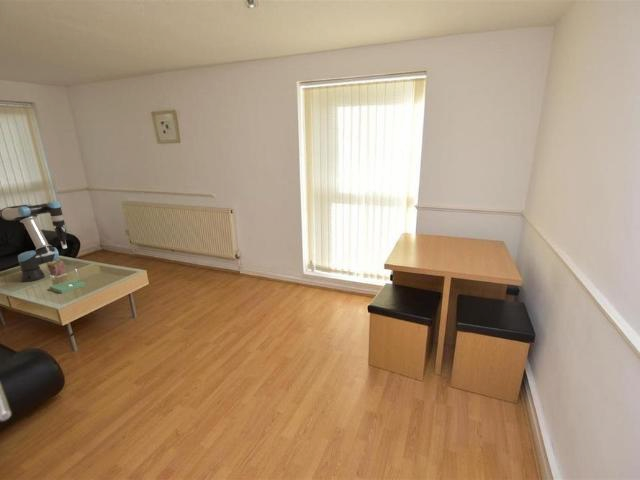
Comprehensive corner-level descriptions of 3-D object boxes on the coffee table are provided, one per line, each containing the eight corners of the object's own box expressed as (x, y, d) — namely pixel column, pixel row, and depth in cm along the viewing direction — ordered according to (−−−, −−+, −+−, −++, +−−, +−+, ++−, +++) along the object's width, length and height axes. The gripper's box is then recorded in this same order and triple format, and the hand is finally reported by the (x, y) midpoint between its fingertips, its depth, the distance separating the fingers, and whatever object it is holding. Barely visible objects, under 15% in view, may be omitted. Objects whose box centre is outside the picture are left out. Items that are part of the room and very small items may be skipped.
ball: (66, 287, 244) (66, 284, 242) (71, 285, 247) (71, 282, 245) (68, 290, 243) (69, 287, 241) (73, 288, 246) (74, 285, 244)
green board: (50, 289, 244) (49, 286, 243) (73, 282, 257) (72, 279, 257) (62, 293, 236) (61, 290, 235) (85, 285, 249) (84, 282, 249)
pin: (78, 282, 250) (74, 266, 246) (79, 282, 250) (75, 265, 246) (80, 283, 248) (76, 266, 244) (81, 282, 249) (77, 266, 245)
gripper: (48, 220, 253) (55, 248, 260) (56, 222, 248) (63, 250, 254) (59, 219, 260) (65, 246, 266) (67, 220, 254) (74, 247, 260)
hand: (64, 248), depth 260 cm, fingers closed
